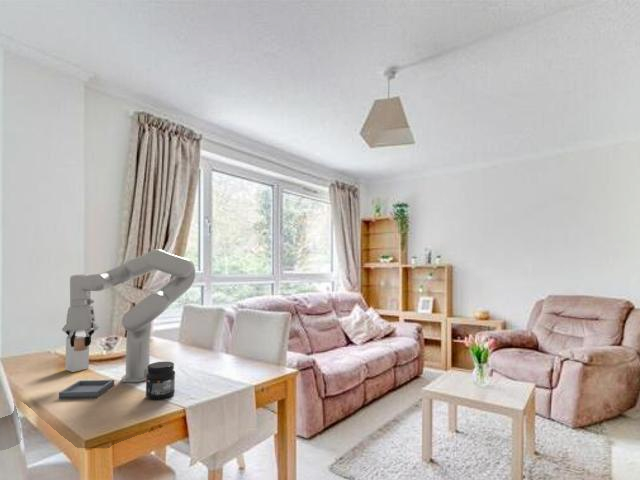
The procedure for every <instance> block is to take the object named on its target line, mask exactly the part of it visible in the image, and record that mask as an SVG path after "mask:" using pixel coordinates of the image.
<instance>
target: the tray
mask: <svg viewBox="0 0 640 480" xmlns="http://www.w3.org/2000/svg"><path fill="white" fill-rule="evenodd" d="M114 386H115V379H95V380H94V379H91V380H87V379H86V380H85V379H84V380H78V381H76V382H74V383H72V384H70V385H69V386H67V387H66V388H64V389H63V390H61V391H60V392H58V400H85V399H86V400H87V399H88V400H89V399H90V400H92V399H98V398H100V397H102V395H104V394H105V393H106V392H108V391H109V390H111V389H112V388H113V387H114Z"/></svg>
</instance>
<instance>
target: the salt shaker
mask: <svg viewBox="0 0 640 480" xmlns="http://www.w3.org/2000/svg"><path fill="white" fill-rule="evenodd" d="M85 337H86V336H77V337H75V339H74V351H82V350H86V349H88V346H85Z"/></svg>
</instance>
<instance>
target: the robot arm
mask: <svg viewBox="0 0 640 480" xmlns="http://www.w3.org/2000/svg"><path fill="white" fill-rule="evenodd" d="M155 271H158V272H162V273H165V274H169V275H171V276H174V277H173V278H172V279H170V280H169V281H168V282H167V283H165V284H164V285H163V286H161V287H160V288H159V289H158V290H155V291H154V292H151V293H150V294H148V295H147V296H146V297H144V298H143V299H142V300H140V301H139V302H138V303H137V304H135V305H133V307H131V309H129V310H127V311H126V312H125V313H124V315H123V317H122V319H121V325H122V327H123V328H124V330H126V339H125V340H126V345H125V346H126V347H125V375H122V376H121V382H122V383H126V384H131V383H132V384H133V383H134V384H135V383H141V382H146V374H147V373H148V371H147V368H148V365H150V359H151V358H150V354H151V350H150V349H151V348H150V347H151V329H152V322H153V321H154V320H155V319H157V318H158V317H159V316H160V315H162V314H163V313H164V312H165V311H166V310H168V309H169V307H170V306H171V305H172V304H173V303H174V302H176V301H177V300H178V299H179V298H181V296H183V295H184V294H185V293H186V292H188V290H189V289H190V288H191V286H192V285H193V284H194V281H195V278H196V268H195V264H194V262H193V261H192V260H191V259H190V258H187V257H183V256H182V257H181V256H178V255H175V254H172V253H169V252H166V250H163V249H160V248H158V249H157V248H155V249H151V250H150V251H148V252H147V253H144V254H141V255H139V256H136V257H135V258H134V257H133V258H131V259H129V260H126V261H125V262H124V263H123V264H121V265H119V266H117V267H114V268H112V269H110V270H109V269H108V270H106V271H104V272H100V273H93V274H86V273H84V274H73V275H71V276H70V277H69V297H70V298H69V307H68V309H67V314H66V323H65V325H63V327H62V329H61V331H63V332H64V333H65V334H66V335H67V336H69V337H70V344H71V347H74V339H75V337H77V336H75V334H76V331H77V330H85V333H86V337H85V346H89V347H90V345H91V343H92V335H93V334H94V333H95V332H96V331H98V330H99V329H100V326H99V325H98V324H97V323H96V316H95V315H96V314H95V308H94V305H92V304H94V302H95V301H94V299H92V297H91V296H92V295H91V293H92V292H103V291H104V290H107V289H110V288H113V287H115V286H118V285H121V284H123V283H125V282H128V281H131V280H134V279H137V278H139V277H141V276H142V277H143V276H144V275H147V274H150V273H152V272H155ZM91 291H92V292H91Z"/></svg>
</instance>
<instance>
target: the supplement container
mask: <svg viewBox="0 0 640 480" xmlns="http://www.w3.org/2000/svg"><path fill="white" fill-rule="evenodd" d="M174 369H175V364H174V362H173V361H168V360H166V361H155V362H152V363H149V365H148V368H147V371H148V373H147V374H146V381H145V397H146V398H147V399H148V400H150V401H151V400H152V401H160V400H161V401H162V400H165V399H169V398H171V397H172V396H174V395H175V392H176V389H175V385H176V384H175V383H176V378H175V377H176V371H175V370H174Z"/></svg>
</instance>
